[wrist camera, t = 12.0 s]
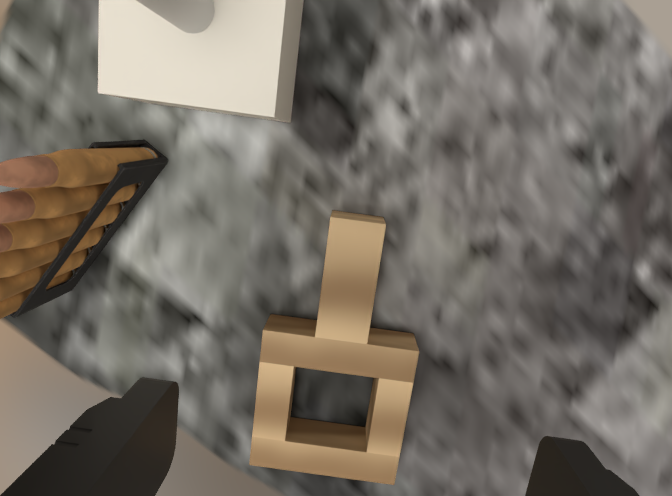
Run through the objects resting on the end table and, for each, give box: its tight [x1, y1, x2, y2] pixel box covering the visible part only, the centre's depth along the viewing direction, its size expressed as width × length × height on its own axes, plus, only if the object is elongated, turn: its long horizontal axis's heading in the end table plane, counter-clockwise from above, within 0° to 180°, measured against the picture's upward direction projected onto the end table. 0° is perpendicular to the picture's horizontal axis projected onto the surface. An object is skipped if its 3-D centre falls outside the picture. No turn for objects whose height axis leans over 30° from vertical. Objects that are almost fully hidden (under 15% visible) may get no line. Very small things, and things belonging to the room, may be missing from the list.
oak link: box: [249, 210, 419, 485], centre depth 27 cm, size 16×9×2 cm, turn 173°
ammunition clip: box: [0, 140, 167, 319], centre depth 21 cm, size 11×2×12 cm, turn 140°
